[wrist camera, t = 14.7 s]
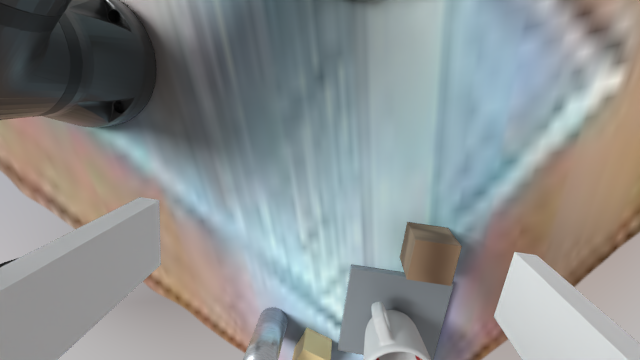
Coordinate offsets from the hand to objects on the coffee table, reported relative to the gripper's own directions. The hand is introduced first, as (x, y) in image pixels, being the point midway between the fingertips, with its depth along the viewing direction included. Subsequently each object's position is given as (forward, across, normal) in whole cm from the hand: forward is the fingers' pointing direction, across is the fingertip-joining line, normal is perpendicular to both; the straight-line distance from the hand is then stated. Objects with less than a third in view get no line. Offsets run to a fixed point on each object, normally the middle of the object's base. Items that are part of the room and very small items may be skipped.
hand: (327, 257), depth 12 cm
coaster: (+27, +10, -22) cm, 36 cm away
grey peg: (+27, -6, -26) cm, 38 cm away
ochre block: (+27, 0, -29) cm, 39 cm away
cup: (+26, +9, -22) cm, 35 cm away
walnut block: (+27, +12, -11) cm, 31 cm away
